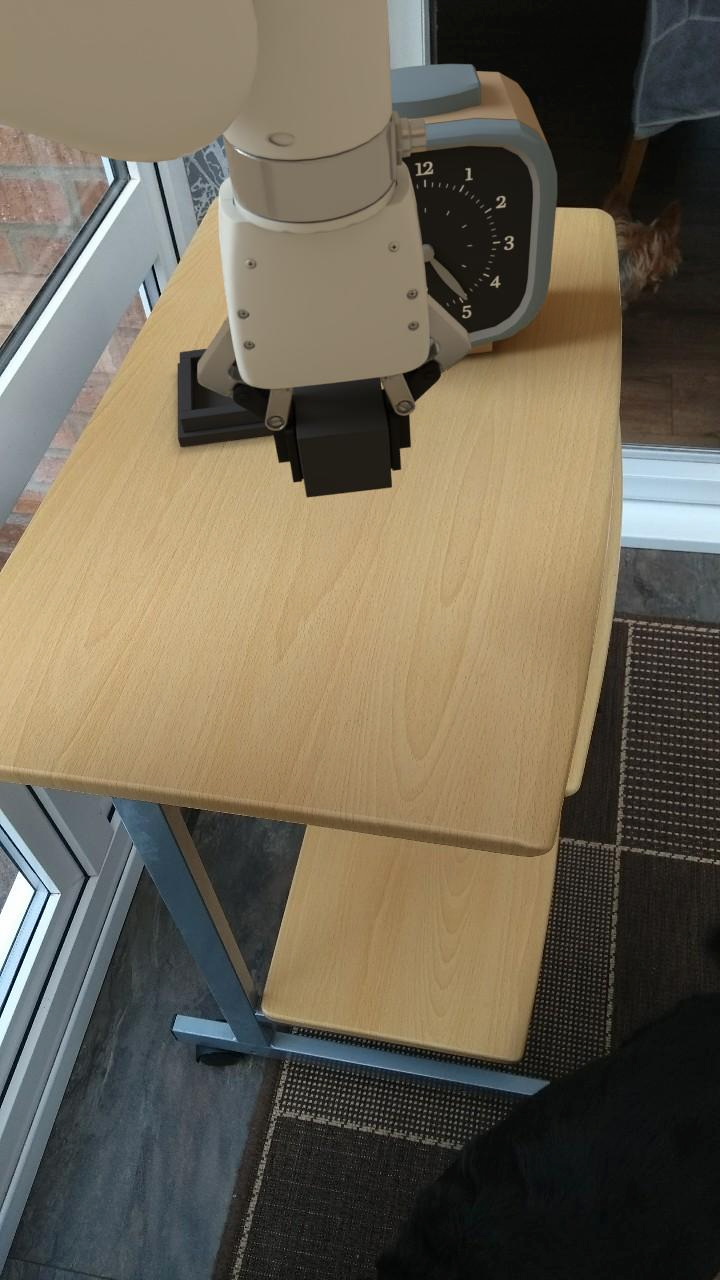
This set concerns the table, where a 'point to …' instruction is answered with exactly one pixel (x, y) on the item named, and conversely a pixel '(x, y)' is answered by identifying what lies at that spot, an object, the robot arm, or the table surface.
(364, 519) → the table surface
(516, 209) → the alarm clock
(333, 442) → the black cube
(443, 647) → the table surface
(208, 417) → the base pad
